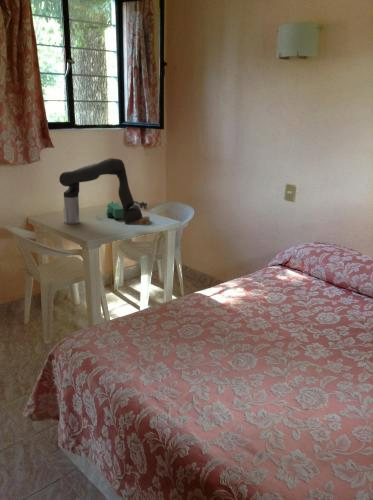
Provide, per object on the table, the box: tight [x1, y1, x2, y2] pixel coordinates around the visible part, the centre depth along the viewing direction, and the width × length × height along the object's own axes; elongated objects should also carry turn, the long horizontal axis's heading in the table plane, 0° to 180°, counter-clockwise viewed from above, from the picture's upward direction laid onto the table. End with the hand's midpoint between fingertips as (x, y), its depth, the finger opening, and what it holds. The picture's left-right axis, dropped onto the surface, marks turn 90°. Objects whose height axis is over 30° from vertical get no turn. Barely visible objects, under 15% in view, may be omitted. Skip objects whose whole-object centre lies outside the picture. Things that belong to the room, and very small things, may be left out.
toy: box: [106, 201, 124, 219], centre depth 304 cm, size 12×10×30 cm
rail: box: [124, 215, 151, 225], centre depth 289 cm, size 16×10×3 cm, turn 93°
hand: (136, 202), depth 274 cm, fingers open, 8 cm apart
